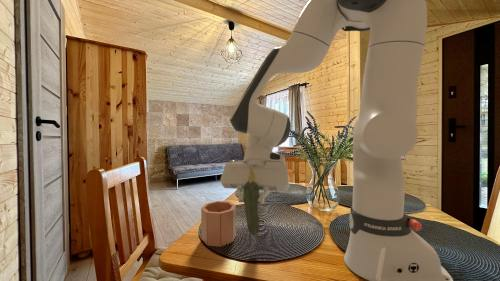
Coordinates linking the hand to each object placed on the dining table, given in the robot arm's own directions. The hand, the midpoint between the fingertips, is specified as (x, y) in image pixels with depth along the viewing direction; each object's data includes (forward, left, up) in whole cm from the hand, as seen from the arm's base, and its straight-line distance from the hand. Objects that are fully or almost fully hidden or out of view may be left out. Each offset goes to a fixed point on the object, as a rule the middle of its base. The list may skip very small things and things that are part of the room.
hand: (250, 202), depth 64 cm
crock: (+11, -6, -14) cm, 19 cm away
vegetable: (0, -1, -11) cm, 11 cm away
